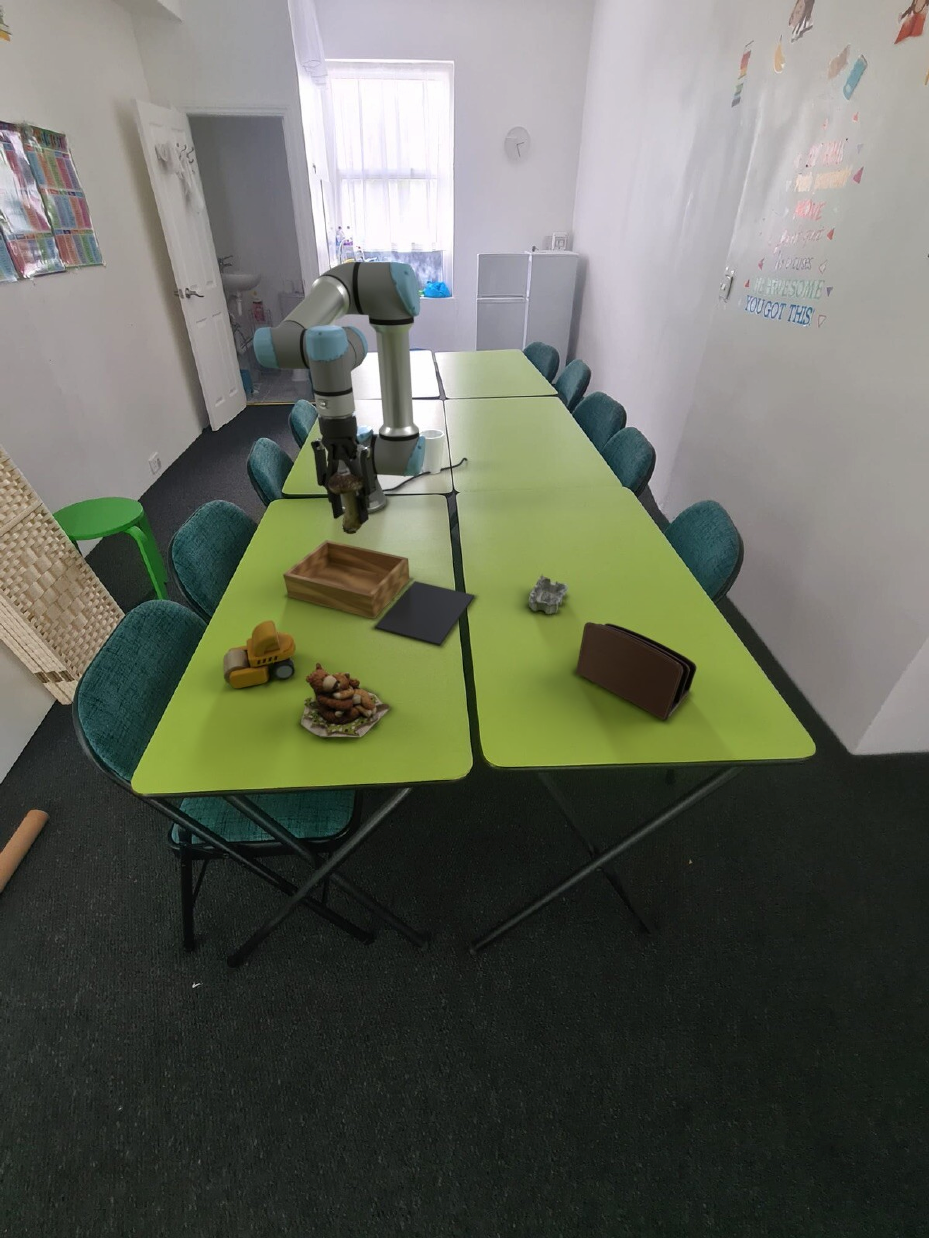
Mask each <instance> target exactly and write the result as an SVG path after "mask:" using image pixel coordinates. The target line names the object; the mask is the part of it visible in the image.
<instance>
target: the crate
mask: <svg viewBox="0 0 929 1238" xmlns="http://www.w3.org/2000/svg"><path fill="white" fill-rule="evenodd" d="M282 575H283V580H284V584H285V588H286V589H285V590H286V593H287V597H290V598H293V599H297V600H300V601H305V602H308V603H312V604H316V605H320V606H322V607H326V608H327V607H328V608H330V609H331V608H332V609H335V610H339V611H343V612H345V613H350V614H353V615H358V616H361V617H364V618H369V619H372V620H374V619H376V618H377V617H378V615H379V614H380V613H381V612H382V611H383V610H384V609H385V608H386V606H387V605H389V603H391V601H392V600H393V599H394V597H396V595H397V594H398V593H399V592H400V591H401V590H402V589H403V588H404V587H405V586H406V584H407V583H408V582H409V581H411V575H410V563H409V558H408V557H406V556H400V555H396V554H391V553H387V552H382V551H378V550H373V549H369V548H365V547H359V546H355V545H350V544H346V543H341V542H337V541H332V540H329V539H326V540H324V541H323V542H322V543H320V544H319V545H317V546H316V547H315V548H314V549H313V550H312V551H311V552H309V553H308V554H307V555H306V556H304V557H303V558H302V559H300V560H299V561H298V562H296V563H295V564H294V565H293V566H292V567H290V568H289V569H288V570H287V571H286V572H284V573H283V574H282Z"/></svg>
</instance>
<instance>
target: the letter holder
mask: <svg viewBox="0 0 929 1238" xmlns="http://www.w3.org/2000/svg"><path fill="white" fill-rule="evenodd" d="M697 668H698V667H697V665H696V663H695V662H694V661H693V660H691V659H689V658H688V657H686V656H685V655H683V654H681V653H680V652H677V651H676V650H674V649H672V648H670V647H668V646H666V645H664V644H662V643H661V642H658V641H656V640H654V639H651V638H650V637H648V636H646V635H642V633H638V632H636V631H634V630H631V629H628V628H626V627H623V626H621V625H617V624H614V623H610V622H607V623H606V622H605V623H604V624H603V623H595V622H592V621H588V622H586V623H584V626H583V630H582V636H581V642H580V647H579V653H578V658H577V663H576V668H575V674H577V675H579V676H582V678H585V679H587V680H589V681H590V682H593V683H594V684H596V685H598V686H600V687H602V688H603V689H605V690H607V691H609V692H611V693H613V694H615V695H617V696H618V697H620V698H622V699H624V700H626V701H628V702H629V703H631V704H633V705H635V706H637V707H639V708H640V709H642V710H644V711H646V712H647V713H649V714H652V715H653V716H656V717H657V718H659V719H661V720H662V721H664V722H667V720H668V719H669V718H670V717H671V715H672V714H673V713H674V711H676V709H677V708H679V706H680V705H681V704H682V702H683V701H684V700H685V698H686V697H687V696H688V694H689V693H690V690H691V687H692V684H693V680H694V677H695V674H696V672H697Z"/></svg>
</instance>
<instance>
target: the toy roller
mask: <svg viewBox="0 0 929 1238" xmlns="http://www.w3.org/2000/svg"><path fill="white" fill-rule="evenodd" d="M296 650H297V646H296V641H295V639H294V637H293V635H291V634H289V633H285V632H282V631H277V627H276V623H275V621H274V620H270V619H269V620H265V621H261V622H259V624H257V625H256V626H255V627H254V629H253V630H252V633H251V637H249V638H248V639H246V645H240V646H236V647H231V648H229V649H228V651H227V652H226V653H225V654H224V656H223V659H222V662H223V663H222V664H223V679H224V682H225V683H227V684H228V685H230V686H231V687H232V688H234V689H241V688H242V689H243V688H246V687H247V688H248V687H253V686H257V685H261V684H262V685H263V684H265V683H267V682H268V681H269V679H270V677H271V676H270V669H269V665H270V664H272V665H273V668H272V671H273V676H274V677H275V678H276V679H278V680H281V681H284V680H288V679H290V678H292V677H293V676H294V675H295V673H296V670H295V669H296V668H295V664H294V662H293V660H292V658H291V657H292V656H293V655H294V654H295V652H296Z"/></svg>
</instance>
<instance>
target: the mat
mask: <svg viewBox="0 0 929 1238" xmlns="http://www.w3.org/2000/svg"><path fill="white" fill-rule="evenodd" d="M474 598H475V595H474V594H470V593H467V592H462V591H459V590H455V589H449V588H446V587H442V586H437V585H433V584H428V583H424V582H421V581H420V582H419V581H416V580H415V581H413V583H412V584H411V585H410V586H409V587H408V589H407V590H406V591H405V592H404V593H403V594H402V595H401V597H400V598H399V599H398V600H397V601H396V602H395V603H394V604H393V606H392V607H391V608H390V609H389V610H388V611H387V612H386V614H385V615H383V617H382V618H381V619H380V620H379V621H378V622H377V623H376V624H375V626H374V629H377V630H379V631H383V632H385V633H386V632H387V633H390V634H394V635H398V636H402V637H405V638H409V639H412V640H416V641H420V642H423V643H428V644H431V645H434V646H439V647H440V646H441V645H442V643H443V642H444V641H445V639H446V638H447V637H448V635H449V633H450V632H451V631H452V629H453V628H454V626H455V625H456V624H457V623H458V621H459V620H460V618H461V616H462V615H463V614H464V613H465V611H466V609H467V608H468V607H469V605H470V604H471V602H472V601H473V600H474Z"/></svg>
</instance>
